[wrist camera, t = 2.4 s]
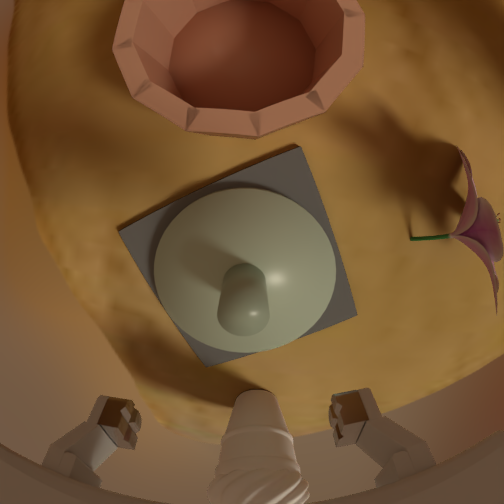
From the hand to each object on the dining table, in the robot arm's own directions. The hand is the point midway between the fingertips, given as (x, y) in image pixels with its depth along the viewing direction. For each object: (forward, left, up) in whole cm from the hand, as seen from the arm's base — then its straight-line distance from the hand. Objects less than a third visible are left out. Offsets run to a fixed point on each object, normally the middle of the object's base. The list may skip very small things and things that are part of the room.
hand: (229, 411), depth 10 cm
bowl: (-6, -14, -12) cm, 19 cm away
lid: (0, 0, -11) cm, 11 cm away
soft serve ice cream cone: (+5, +14, -12) cm, 19 cm away
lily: (-18, +2, -12) cm, 22 cm away
